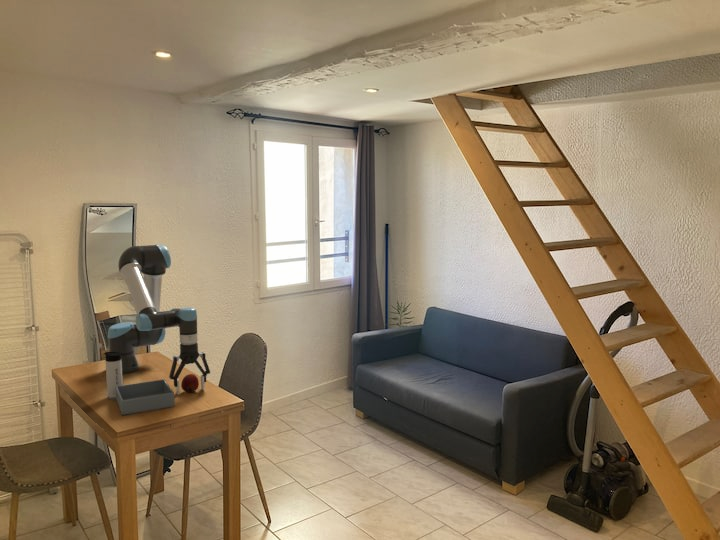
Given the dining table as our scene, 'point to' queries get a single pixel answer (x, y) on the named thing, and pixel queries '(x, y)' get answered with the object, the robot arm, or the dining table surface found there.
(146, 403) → the tub
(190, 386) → the apple
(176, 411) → the dining table surface
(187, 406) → the dining table surface
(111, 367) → the travel mug
